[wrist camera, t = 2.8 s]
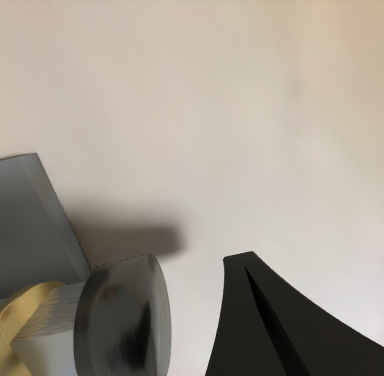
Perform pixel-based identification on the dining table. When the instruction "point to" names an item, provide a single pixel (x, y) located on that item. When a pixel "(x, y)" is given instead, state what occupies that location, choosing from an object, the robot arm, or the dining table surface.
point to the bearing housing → (34, 230)
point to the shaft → (90, 324)
